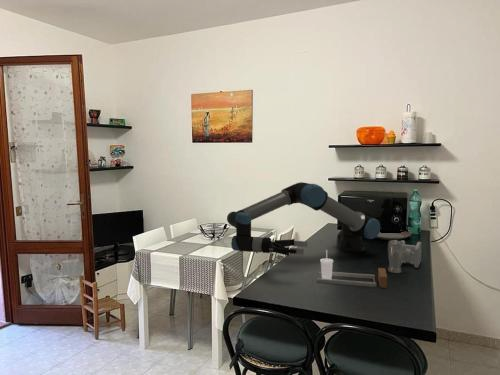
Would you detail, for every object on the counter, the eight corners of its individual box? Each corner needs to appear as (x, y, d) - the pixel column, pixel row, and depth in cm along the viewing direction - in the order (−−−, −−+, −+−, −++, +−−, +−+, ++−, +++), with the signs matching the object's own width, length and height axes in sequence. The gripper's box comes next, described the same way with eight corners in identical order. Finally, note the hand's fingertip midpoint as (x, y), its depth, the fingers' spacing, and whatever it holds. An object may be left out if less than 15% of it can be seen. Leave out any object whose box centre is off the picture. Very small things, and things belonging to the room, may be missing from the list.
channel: (316, 282, 169) (316, 271, 168) (319, 273, 180) (319, 263, 180) (386, 288, 161) (387, 277, 160) (384, 278, 172) (384, 268, 171)
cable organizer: (417, 270, 183) (418, 247, 182) (395, 267, 188) (395, 245, 187) (421, 262, 195) (421, 241, 194) (400, 259, 201) (400, 238, 200)
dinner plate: (359, 235, 259) (359, 230, 258) (389, 231, 269) (389, 226, 269) (388, 244, 234) (388, 239, 233) (419, 239, 244) (419, 234, 244)
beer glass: (401, 269, 184) (402, 240, 182) (402, 274, 178) (403, 244, 176) (387, 268, 186) (387, 239, 185) (387, 272, 180) (388, 243, 178)
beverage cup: (325, 281, 169) (325, 252, 168) (317, 277, 175) (317, 249, 174) (335, 279, 172) (336, 250, 170) (328, 275, 177) (328, 247, 176)
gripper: (268, 246, 193) (308, 248, 187) (256, 259, 169) (301, 263, 163) (268, 232, 192) (308, 234, 186) (256, 243, 168) (302, 246, 162)
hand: (305, 247), depth 175 cm, fingers open, 13 cm apart
